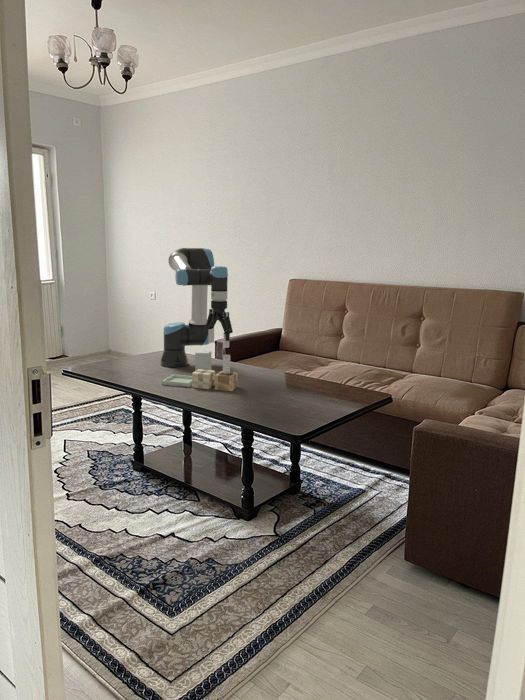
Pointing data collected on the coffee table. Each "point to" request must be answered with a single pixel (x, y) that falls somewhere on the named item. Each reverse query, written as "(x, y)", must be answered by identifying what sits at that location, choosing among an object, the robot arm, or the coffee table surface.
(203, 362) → the supplement box
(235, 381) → the oak block
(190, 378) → the tray
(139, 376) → the coffee table surface
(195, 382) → the birch block
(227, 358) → the rod
